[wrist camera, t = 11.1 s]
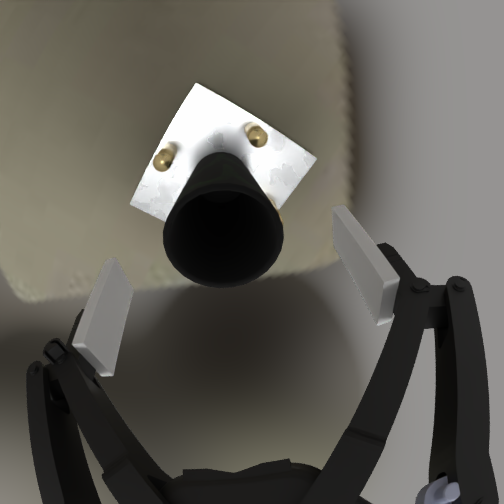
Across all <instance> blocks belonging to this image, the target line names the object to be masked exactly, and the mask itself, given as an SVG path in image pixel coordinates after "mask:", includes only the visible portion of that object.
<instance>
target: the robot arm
mask: <svg viewBox="0 0 504 504" xmlns="http://www.w3.org/2000/svg"><path fill="white" fill-rule="evenodd" d="M332 222H333V243H334V248H335V249H336V251H337V253H338V255H339V256H340V258H341V260H342V261H343V263H344V265H345V267H346V268H347V270H348V272H349V274H350V276H351V278H352V279H353V281H354V283H355V285H356V287H357V288H358V290H359V292H360V294H361V296H362V298H363V300H364V301H365V303H366V305H367V307H368V309H369V311H370V313H371V314H372V317H373V319H374V321H375V323H376V325H377V326H378V325H381V324H384V323H387V322H390V321H391V320H392V315H393V313H394V315H395V317H394V320H393V323H392V326H391V329H390V332H389V334H388V337H387V340H386V343H385V345H384V348H383V350H382V353H381V355H380V358H379V360H378V363H377V365H376V368H375V370H374V373H373V375H372V377H371V380H370V382H369V384H368V386H367V389H366V391H365V393H364V395H363V397H362V400H361V402H360V404H359V406H358V408H357V410H356V412H355V414H354V416H353V418H352V420H351V423H350V424H349V426H348V428H347V429H346V430H345V432H344V433H343V435H342V437H341V439H340V440H339V442H338V444H337V445H336V447H335V449H334V451H333V452H332V454H331V456H330V458H329V459H328V461H327V463H326V464H325V466H324V468H323V469H322V470H320V469H318V468H316V467H313V466H311V465H306V464H302V463H291V462H290V459H284V460H278V461H272V462H266V463H261V464H259V465H256V466H253V467H250V468H248V469H245V470H242V471H239V472H236V473H231V472H224V471H218V470H212V469H184V470H183V475H181V476H178V477H176V478H174V479H172V478H171V477H170V476H169V475H167V474H166V473H165V472H164V471H163V470H162V469H161V468H160V467H159V466H158V465H157V464H156V462H155V461H154V460H153V459H152V457H150V455H149V454H148V453H147V451H146V450H145V449H144V447H143V446H142V445H141V443H140V442H139V441H138V440H137V438H136V437H135V435H134V434H133V433H132V431H131V430H130V429H129V427H128V426H127V424H126V423H125V421H124V420H123V419H122V417H121V416H120V414H119V413H118V411H117V410H116V408H115V407H114V405H113V404H112V402H111V401H110V399H109V397H108V396H107V394H106V393H105V391H104V389H103V388H102V386H101V384H100V383H99V381H98V379H97V378H96V377H95V376H94V375H95V371H97V372H98V373H99V374H100V375H101V376H113V375H114V370H115V364H116V360H117V355H118V350H119V347H120V342H121V338H122V334H123V330H124V326H125V322H126V318H127V314H128V310H129V306H130V302H131V299H132V295H133V292H134V290H133V288H132V286H131V284H130V283H129V281H128V279H127V277H126V275H125V274H124V272H123V270H122V268H121V266H120V264H119V262H118V261H117V259H116V257H115V258H111V259H108V260H106V261H105V263H104V265H103V267H102V269H101V271H100V274H99V276H98V278H97V281H96V283H95V285H94V288H93V290H92V292H91V295H90V297H89V300H88V302H87V305H86V307H85V309H82V310H81V312H80V313H79V314H78V316H77V318H76V320H75V323H74V325H73V328H72V331H71V333H70V336H69V339H68V342H67V344H66V346H65V345H64V343H63V342H62V341H61V340H60V339H59V338H54V339H52V340H51V341H49V342H48V343H47V344H46V346H45V347H44V350H43V356H44V357H45V358H46V359H47V360H48V361H49V362H50V364H47V365H45V366H44V365H43V364H42V363H41V362H40V361H34V362H33V363H32V364H31V365H30V366H29V368H28V370H27V373H26V388H27V410H28V423H29V433H30V440H31V448H32V455H33V460H34V466H35V471H36V476H37V481H38V485H39V490H40V494H41V498H42V502H43V504H101V501H100V499H99V496H98V493H97V490H96V488H95V485H94V482H93V479H92V476H91V473H90V470H89V467H88V464H87V460H86V457H85V453H84V450H83V446H82V442H81V438H80V434H79V430H78V425H79V427H80V429H81V431H82V433H83V435H84V437H85V439H86V441H87V443H88V444H89V446H90V448H91V450H92V451H93V453H94V455H95V457H96V458H97V460H98V461H99V464H100V465H101V467H102V468H103V470H104V473H103V474H102V479H103V480H104V482H105V484H106V485H107V487H108V488H109V490H110V491H111V493H112V494H113V496H114V497H115V499H116V500H117V501H118V503H119V504H372V503H370V502H368V501H367V500H365V499H364V498H362V497H361V496H359V495H360V493H361V492H362V490H363V488H364V487H365V485H366V483H367V481H368V479H369V477H370V475H371V474H372V471H373V470H374V468H375V466H376V464H377V462H378V460H379V458H380V456H381V453H382V451H383V449H384V446H385V444H386V440H387V437H388V435H389V432H390V430H391V428H392V425H393V423H394V420H395V418H396V415H397V413H398V410H399V408H400V405H401V402H402V400H403V397H404V394H405V391H406V388H407V386H408V382H409V379H410V376H411V373H412V370H413V367H414V364H415V360H416V357H417V353H418V350H419V346H420V342H421V339H422V335H423V331H424V329H429V328H434V335H435V357H436V392H435V393H436V395H435V414H434V428H433V438H432V447H431V456H430V463H429V484H427V485H426V486H424V487H423V488H422V489H421V490H420V491H419V493H418V495H417V497H416V503H415V504H498V503H499V498H498V492H497V486H496V482H495V477H494V472H493V468H492V464H491V459H490V456H489V433H490V421H489V420H490V415H489V414H490V413H489V392H488V391H489V390H488V378H487V368H486V359H485V351H484V345H483V338H482V332H481V327H480V322H479V316H478V312H477V307H476V303H475V298H474V294H473V290H472V286H471V285H470V282H469V281H467V279H465V278H463V277H460V276H452V277H451V278H449V279H448V281H447V283H446V285H430V283H429V282H428V281H426V280H425V279H422V278H417V277H416V276H415V274H414V273H413V272H412V270H411V269H410V268H409V267H408V265H407V264H406V263H405V261H404V260H403V259H402V257H400V255H399V254H398V252H397V251H396V250H395V249H394V247H392V246H390V245H389V244H387V243H382V244H378V245H376V244H375V243H374V242H373V241H372V239H371V238H370V237H369V235H368V234H367V233H366V231H365V230H364V229H363V228H362V226H361V225H360V224H359V223H358V221H357V220H356V219H355V218H354V216H353V215H352V214H351V213H350V211H349V210H348V209H347V208H346V207H345V205H339V206H334V207H332ZM77 423H78V425H77Z"/></svg>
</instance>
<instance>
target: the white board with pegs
mask: <svg viewBox="0 0 504 504" xmlns="http://www.w3.org/2000/svg"><path fill="white" fill-rule="evenodd" d="M215 152H226V153H231V154H233V155H235V156H237V157H238V158H239V159H241V160H242V162H243V163H244V164H245V166H246V167H247V168H248V170H249V171H250V173H251V174H252V176H253V177H254V178H255V180H256V181H257V183H258V184H259V186H260V187H261V188H262V190H263V191H264V193H265V194H266V196H267V197H268V199H269V200H270V202H271V203H272V204H273V206H274V207H275V209H276V210H277V212H278V213H279V209H280V207H281V206H282V205H283V203H284V202H285V201H286V199H287V198H288V197H289V195H290V194H291V193H292V191H293V190H294V189H295V187H296V186H297V185H298V183H299V182H300V181H301V179H302V178H303V177H304V175H305V174H306V173H307V171H308V170H309V169H310V167H311V166H312V165H313V164H314V162H315V161H316V160H317V158H316V157H314V156H313V155H312V154H311V153H309V152H308V151H306V150H305V149H304V148H302V147H301V146H299V145H298V144H296V143H295V142H294V141H292V140H291V139H289V138H288V137H286V136H285V135H283V134H282V133H280V132H279V131H277V130H276V129H274V128H273V127H271V126H270V125H268V124H266V123H265V122H263V121H262V120H260V119H259V118H257V117H255V116H254V115H252V114H250V113H249V112H247V111H246V110H244V109H242V108H241V107H239V106H237V105H236V104H234V103H232V102H230V101H229V100H227V99H225V98H224V97H222V96H220V95H218V94H216V93H215V92H213V91H211V90H209V89H207V88H206V87H204V86H202V85H200V84H198V83H196V84H195V85H194V87H193V88H192V90H191V91H190V93H189V94H188V96H187V98H186V99H185V101H184V103H183V104H182V106H181V107H180V109H179V111H178V112H177V114H176V116H175V118H174V119H173V121H172V123H171V124H170V126H169V128H168V130H167V131H166V133H165V135H164V137H163V139H162V140H161V142H160V144H159V146H158V148H157V150H156V152H155V153H154V155H153V157H152V159H151V161H150V163H149V165H148V167H147V169H146V171H145V173H144V175H143V177H142V179H141V181H140V183H139V185H138V187H137V189H136V192H135V194H134V196H133V198H132V200H131V202H130V205H132V206H134V207H136V208H138V209H140V210H142V211H144V212H146V213H148V214H151V215H153V216H155V217H157V218H159V219H161V220H163V221H165V222H166V219H167V217H168V215H169V213H170V211H171V209H172V207H173V206H174V204H175V202H176V200H177V198H178V196H179V195H180V193H181V191H182V189H183V188H184V186H185V184H186V182H187V181H188V179H189V177H190V175H191V174H192V172H193V170H194V169H195V167H196V165H197V164H198V162H199V161H200V160H201V159H202V158H204V157H205V156H207V155H209V154H212V153H215ZM279 216H280V219H281V222H282V224H284V223H283V219H282V217H281V215H280V213H279Z"/></svg>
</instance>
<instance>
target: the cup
mask: <svg viewBox="0 0 504 504" xmlns="http://www.w3.org/2000/svg"><path fill="white" fill-rule="evenodd" d="M283 239H284V234H283V224H282V222H281V219H280V216H279V213H278V212H277V210H276V209H275V207H274V206H273V204H272V203H271V202H270V200H269V199H268V197H267V196H266V194H265V193H264V191H263V190H262V188H261V187H260V186H259V184H258V183H257V181H256V180H255V178H254V177H253V176H252V174H251V173H250V171H249V170H248V168H247V167H246V166H245V164H244V163H243V162H242V160H241V159H239V158H238V157H237V156H235V155H233V154H231V153H226V152H215V153H212V154H209V155H207V156H205V157H204V158H202V159H201V160H200V161H199V162H198V164H197V165H196V167H195V169H194V170H193V172H192V174H191V175H190V177H189V179H188V181H187V182H186V184H185V186H184V188H183V189H182V191H181V193H180V195H179V196H178V198H177V200H176V202H175V204H174V206H173V207H172V209H171V211H170V213H169V215H168V217H167V219H166V222H165V226H164V230H163V245H164V248H165V251H166V254H167V257H168V258H169V260H170V262H171V263H172V265H173V266H174V267H175V268H176V269H177V270H178V271H179V272H180V273H181V274H182V275H183V276H185V277H186V278H188V279H190V280H191V281H193V282H195V283H198V284H201V285H204V286H208V287H215V288H228V287H236V286H240V285H244V284H247V283H249V282H251V281H253V280H255V279H257V278H259V277H260V276H261V275H263V274H264V273H265V272H267V271H268V270H269V268H270V267H271V266H272V265H273V264H274V263H275V261H276V259H277V257H278V255H279V254H280V252H281V249H282V244H283Z"/></svg>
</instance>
